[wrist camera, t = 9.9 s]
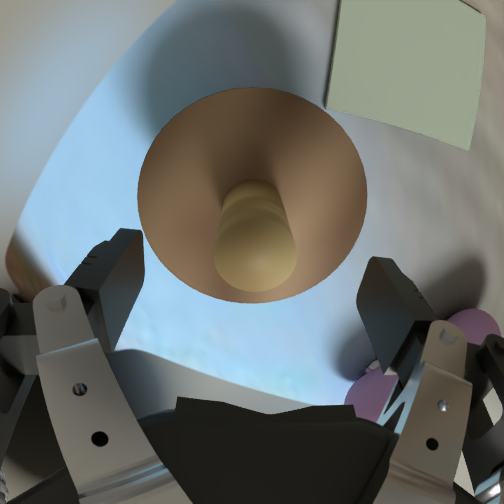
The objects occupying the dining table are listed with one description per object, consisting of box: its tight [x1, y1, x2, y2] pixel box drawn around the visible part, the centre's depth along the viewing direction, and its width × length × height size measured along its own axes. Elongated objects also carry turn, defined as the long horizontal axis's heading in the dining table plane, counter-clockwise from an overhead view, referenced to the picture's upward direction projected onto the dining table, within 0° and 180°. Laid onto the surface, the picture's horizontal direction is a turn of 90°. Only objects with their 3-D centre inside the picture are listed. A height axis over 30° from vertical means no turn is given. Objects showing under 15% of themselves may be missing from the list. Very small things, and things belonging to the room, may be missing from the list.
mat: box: [325, 0, 486, 151], centre depth 17 cm, size 13×13×1 cm
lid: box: [137, 87, 367, 303], centre depth 14 cm, size 12×12×6 cm
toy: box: [344, 309, 501, 422], centre depth 28 cm, size 8×9×20 cm
